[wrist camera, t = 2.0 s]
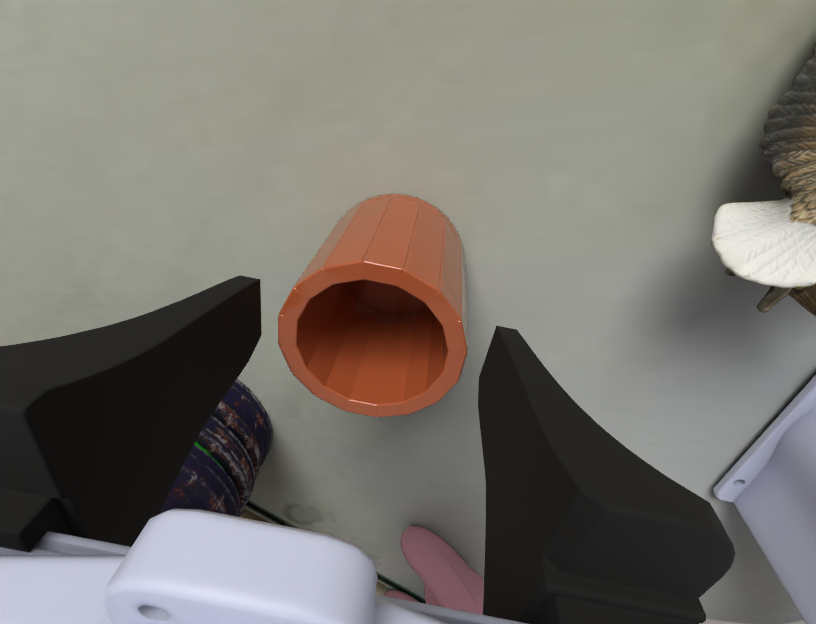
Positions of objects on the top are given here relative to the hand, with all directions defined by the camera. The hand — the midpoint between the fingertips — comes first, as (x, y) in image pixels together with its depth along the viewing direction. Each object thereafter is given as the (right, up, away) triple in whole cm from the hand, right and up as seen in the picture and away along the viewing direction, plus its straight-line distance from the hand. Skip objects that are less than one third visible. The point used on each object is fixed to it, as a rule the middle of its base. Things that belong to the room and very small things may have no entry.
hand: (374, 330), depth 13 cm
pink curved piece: (+3, -17, +16) cm, 23 cm away
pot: (+1, +3, +4) cm, 5 cm away
